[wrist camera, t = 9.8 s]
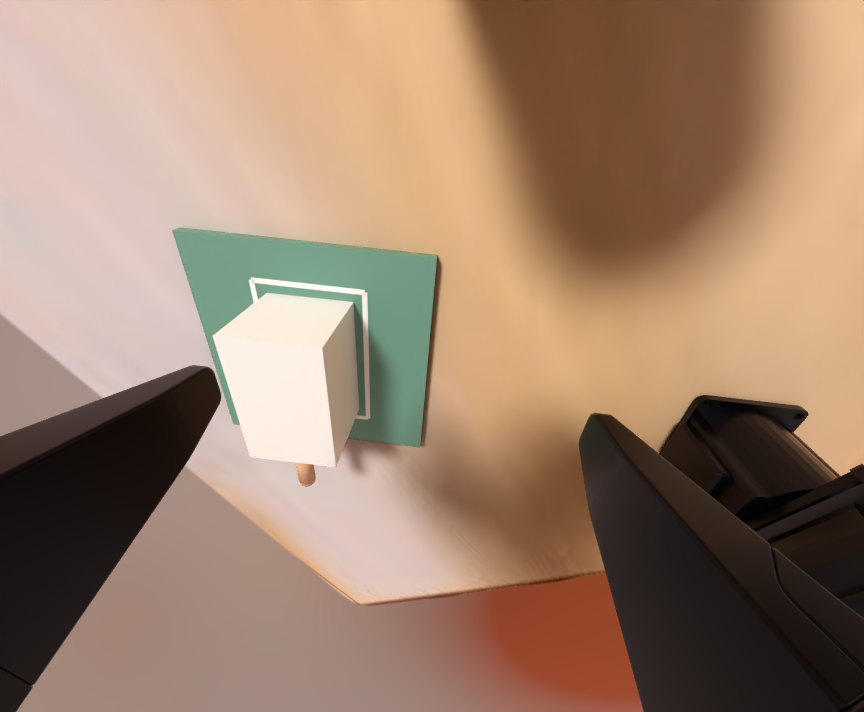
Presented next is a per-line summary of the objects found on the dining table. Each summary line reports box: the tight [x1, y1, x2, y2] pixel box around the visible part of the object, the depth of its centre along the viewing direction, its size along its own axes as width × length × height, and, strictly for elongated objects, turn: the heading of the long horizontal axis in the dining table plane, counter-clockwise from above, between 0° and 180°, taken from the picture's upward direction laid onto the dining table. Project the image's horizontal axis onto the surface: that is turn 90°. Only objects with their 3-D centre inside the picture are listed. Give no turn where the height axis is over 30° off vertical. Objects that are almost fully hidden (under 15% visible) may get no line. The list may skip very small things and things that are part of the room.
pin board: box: [172, 228, 438, 447], centre depth 21 cm, size 14×14×3 cm
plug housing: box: [213, 293, 359, 487], centre depth 21 cm, size 5×12×5 cm, turn 176°
